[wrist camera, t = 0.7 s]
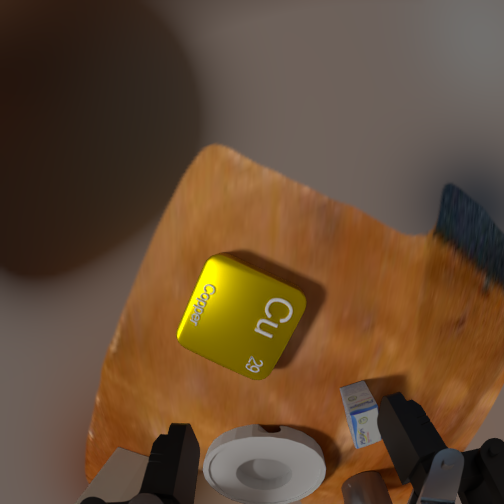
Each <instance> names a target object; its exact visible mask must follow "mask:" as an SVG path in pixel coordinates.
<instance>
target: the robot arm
mask: <svg viewBox="0 0 504 504" xmlns="http://www.w3.org/2000/svg"><path fill="white" fill-rule="evenodd" d="M377 426H378V430H379V432H380V435H381V437H382V439H383V441H384V444H385V446H386V448H387V450H388V453H389V455H390V457H391V459H392V462H393V464H394V466H395V469H396V471H397V473H398V476H399V478H400V480H401V483H402V485H404V484H407V483H409V482H411V484H412V486H413V490H412V493H411V495H410V498H409V500H408V503H407V504H455V500H456V496H457V493H458V495H459V498H460V500H461V503H462V504H504V442H503V441H502V440H501V439H498V438H492V439H489V440H487V441H486V442H485V443H484V444H483V445H482V446H481V448H479V449H475V450H470V451H466V452H460V451H458V450H456V449H452V448H448V447H447V446H446V445H445V443H444V442H443V440H442V438H441V437H440V435H439V433H438V432H437V430H436V429H435V427H434V425H433V424H432V422H430V419H429V418H428V416H426V413H425V411H424V410H423V408H422V407H421V405H419V404H418V403H416V402H415V401H413V400H409V401H406V399H405V398H404V396H403V395H402V393H401V392H397V393H394V394H390V395H387V396H384V397H383V398H382V401H381V405H380V409H379V413H378V417H377ZM199 458H200V447H199V443H198V441H197V439H196V436H195V434H194V432H193V429H192V427H191V425H190V424H188V423H172V424H171V425H170V428H169V431H168V435H165V434H160V436H159V437H158V438H157V439H156V440H155V441H154V443H153V446H152V449H151V455H150V456H149V460H148V461H149V462H148V463H147V467H146V470H145V474H144V478H143V481H142V485H141V489H140V491H139V493H138V494H137V495H136V496H134V497H133V498H132V499H131V500H128V501H124V502H105V501H104V500H102V499H101V498H98V497H88V498H85V499H84V500H82V501H81V503H80V504H194V497H195V489H196V481H197V473H198V466H199ZM342 493H343V498H344V504H393V503H392V501H391V498H390V495H389V493H388V490H387V487H386V485H385V482H384V480H383V479H382V477H381V475H380V474H379V473H378V472H374V471H368V472H363V473H359V474H357V475H355V476H353V477H351V478H349V479H348V480H347V481H345V482H344V484H343V485H342Z"/></svg>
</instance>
